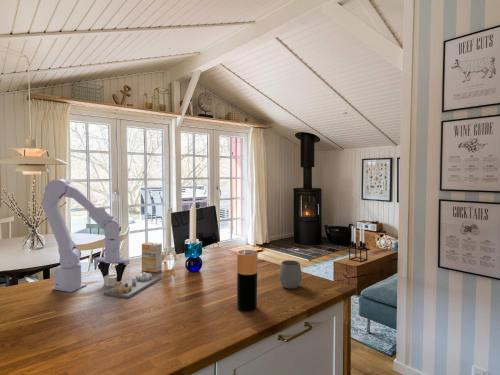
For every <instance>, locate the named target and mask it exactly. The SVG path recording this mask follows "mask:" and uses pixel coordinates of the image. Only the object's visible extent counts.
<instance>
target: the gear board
mask: <svg viewBox="0 0 500 375" xmlns="http://www.w3.org/2000/svg"><path fill="white" fill-rule="evenodd" d="M158 280H159V281H160V280H162V277H161V276H155V275H152V272H146V271H143V272H142V273H138V274H136V275H135V276H133V277H131V278H129V279H127V280H124V281H123V282H121V283H120V284H118V285H115V286H112V287H111V288H109V289H107V290H105V291H104V292H103V295H104V296H110V297H115V296H116V297H117V298H122V299H129V298H132V297H133V296H135V295H137V294H138V293H140V292H142V291H144V290H145V289H147V288H148V287H150V286H151V284H152V285H153V283H154V284H156V283H157V282H159V281H158ZM156 281H157V282H156ZM146 287H147V288H146ZM141 290H142V291H141ZM116 297H115V298H116Z"/></svg>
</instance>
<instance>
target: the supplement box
mask: <svg viewBox="0 0 500 375" xmlns="http://www.w3.org/2000/svg"><path fill="white" fill-rule="evenodd" d="M162 246H163V243H162V242H161V243H159V242H149V241H147V242H143V243H142V244H141V272H147V271H149V272H148V273H155V272H157V273H159V272H161V271H162V270H161V269H163V268H162V266H163V265H162V264H163V263H162V261H163V260H162V258H163V257H162V256H163V254H162V251H163V250H162V249H163V247H162ZM161 254H162V255H161ZM160 270H161V271H160ZM158 271H159V272H158Z"/></svg>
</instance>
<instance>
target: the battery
mask: <svg viewBox="0 0 500 375" xmlns="http://www.w3.org/2000/svg"><path fill="white" fill-rule="evenodd" d="M236 252H237V253H236V307H237V309H238V310H239V311H243V312H252V311H254V310H257V308H258V271H259V270H258V264H259V262H258V260H259V259H258V255H259V254H258V251H256V250H253V249H252V250H251V249H243V250H242V249H241V250H237V251H236Z"/></svg>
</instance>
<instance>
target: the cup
mask: <svg viewBox="0 0 500 375" xmlns="http://www.w3.org/2000/svg"><path fill="white" fill-rule="evenodd" d="M278 278H279V281H280V283H281V286H282V287H283V288H285V289H289V290H293V289H297V288H298V287H299V286H300V284H301V282H302V280H303V274H302V268H301V263H300V261H297V260H293V259H292V260H289V259H287V260H283V261H281V264H280V269H279V274H278Z"/></svg>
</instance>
